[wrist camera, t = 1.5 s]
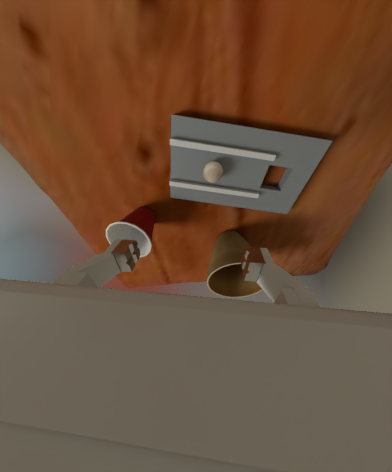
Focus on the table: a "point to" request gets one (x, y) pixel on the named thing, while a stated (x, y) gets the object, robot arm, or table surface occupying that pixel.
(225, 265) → the plant pot
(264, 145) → the hole board
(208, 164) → the ball
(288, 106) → the table surface
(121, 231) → the plastic cup
